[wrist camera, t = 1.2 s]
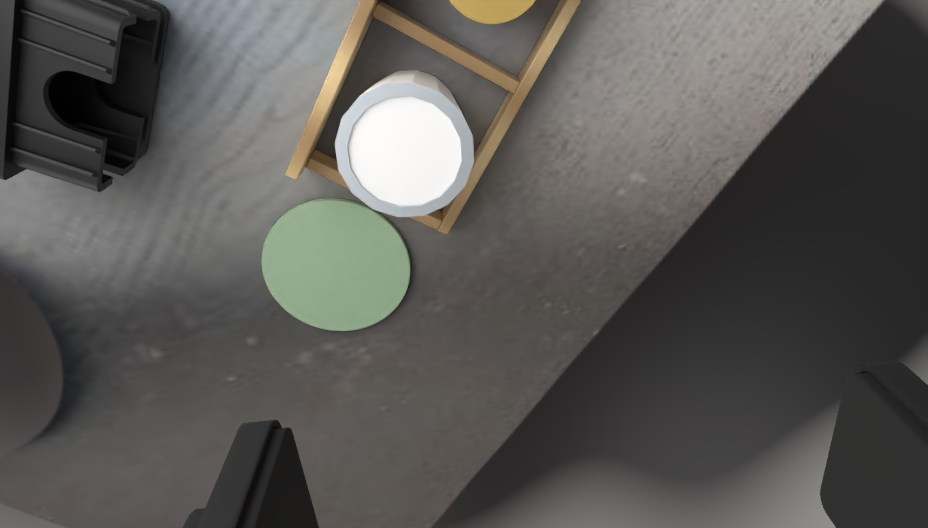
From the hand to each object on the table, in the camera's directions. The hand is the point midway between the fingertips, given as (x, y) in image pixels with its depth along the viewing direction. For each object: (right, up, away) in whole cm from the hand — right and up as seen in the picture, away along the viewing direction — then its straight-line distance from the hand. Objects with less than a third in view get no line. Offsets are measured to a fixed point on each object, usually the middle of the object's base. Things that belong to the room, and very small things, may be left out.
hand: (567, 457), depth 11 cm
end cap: (-22, +15, +24) cm, 36 cm away
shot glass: (-5, +12, +26) cm, 29 cm away
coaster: (-10, +3, +30) cm, 32 cm away
